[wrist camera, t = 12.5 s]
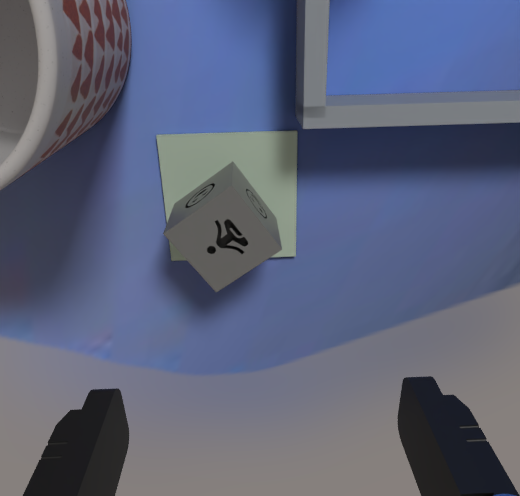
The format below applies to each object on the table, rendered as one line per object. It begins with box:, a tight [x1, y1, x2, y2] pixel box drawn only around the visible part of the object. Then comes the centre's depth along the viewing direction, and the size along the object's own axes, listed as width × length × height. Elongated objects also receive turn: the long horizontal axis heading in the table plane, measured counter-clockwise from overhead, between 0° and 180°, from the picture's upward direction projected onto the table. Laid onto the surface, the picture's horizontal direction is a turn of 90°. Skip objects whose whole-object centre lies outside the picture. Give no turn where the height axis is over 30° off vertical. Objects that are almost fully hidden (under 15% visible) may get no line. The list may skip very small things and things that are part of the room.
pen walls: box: [296, 0, 520, 129], centre depth 25 cm, size 17×11×4 cm, turn 91°
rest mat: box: [156, 130, 297, 261], centre depth 31 cm, size 9×9×1 cm
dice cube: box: [163, 161, 282, 292], centre depth 29 cm, size 5×5×5 cm
